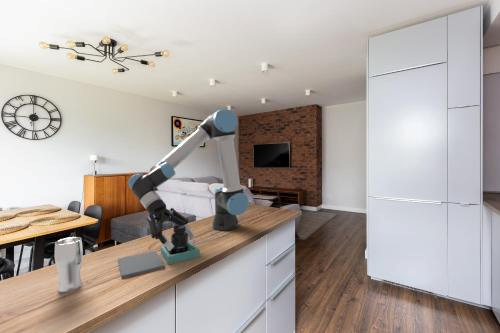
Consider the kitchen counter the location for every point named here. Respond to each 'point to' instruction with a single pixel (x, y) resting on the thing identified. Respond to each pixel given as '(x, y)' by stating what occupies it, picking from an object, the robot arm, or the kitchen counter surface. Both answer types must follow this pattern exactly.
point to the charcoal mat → (139, 264)
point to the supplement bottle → (179, 240)
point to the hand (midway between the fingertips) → (182, 243)
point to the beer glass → (69, 263)
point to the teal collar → (180, 254)
